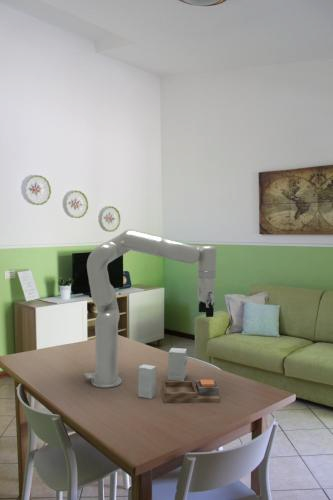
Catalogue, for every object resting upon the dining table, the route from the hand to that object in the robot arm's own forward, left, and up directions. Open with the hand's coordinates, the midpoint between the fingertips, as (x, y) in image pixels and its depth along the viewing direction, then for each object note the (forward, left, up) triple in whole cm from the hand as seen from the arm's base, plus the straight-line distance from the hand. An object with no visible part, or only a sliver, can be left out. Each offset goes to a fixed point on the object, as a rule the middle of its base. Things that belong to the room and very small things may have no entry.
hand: (205, 314), depth 186 cm
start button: (-1, -14, -27) cm, 30 cm away
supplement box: (-11, +6, -30) cm, 33 cm away
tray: (-8, -14, -30) cm, 34 cm away
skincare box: (-25, -14, -30) cm, 42 cm away
